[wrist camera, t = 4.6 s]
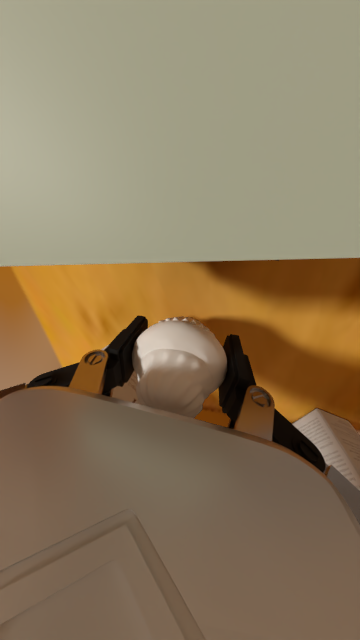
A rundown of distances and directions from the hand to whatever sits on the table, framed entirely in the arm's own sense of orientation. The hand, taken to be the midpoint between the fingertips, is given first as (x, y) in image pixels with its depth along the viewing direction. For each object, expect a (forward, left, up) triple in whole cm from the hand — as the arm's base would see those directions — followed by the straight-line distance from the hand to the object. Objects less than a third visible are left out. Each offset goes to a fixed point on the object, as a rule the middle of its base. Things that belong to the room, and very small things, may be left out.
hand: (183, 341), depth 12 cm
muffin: (0, 0, -1) cm, 1 cm away
